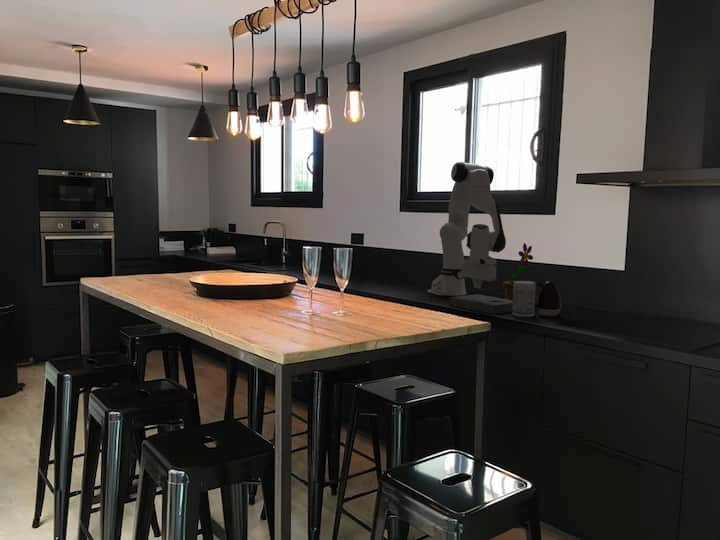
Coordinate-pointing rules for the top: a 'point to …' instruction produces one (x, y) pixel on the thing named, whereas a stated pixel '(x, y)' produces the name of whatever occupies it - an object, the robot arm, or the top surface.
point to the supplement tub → (524, 298)
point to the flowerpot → (509, 284)
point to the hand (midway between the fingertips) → (477, 288)
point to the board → (483, 303)
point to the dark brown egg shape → (549, 299)
